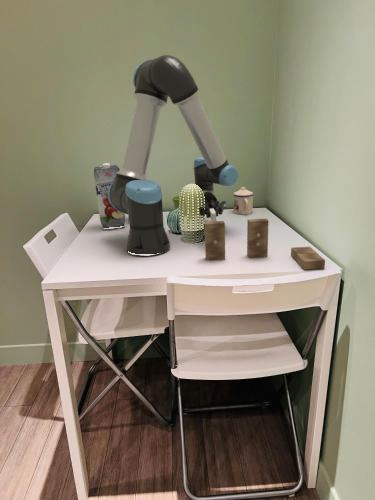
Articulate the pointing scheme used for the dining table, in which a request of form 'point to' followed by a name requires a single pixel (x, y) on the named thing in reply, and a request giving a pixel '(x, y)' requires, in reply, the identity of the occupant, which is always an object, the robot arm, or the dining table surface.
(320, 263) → the tile
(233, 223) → the dining table surface
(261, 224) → the tile
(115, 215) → the juice carton
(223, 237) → the tile
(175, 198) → the plant pot
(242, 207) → the teacup with lid
